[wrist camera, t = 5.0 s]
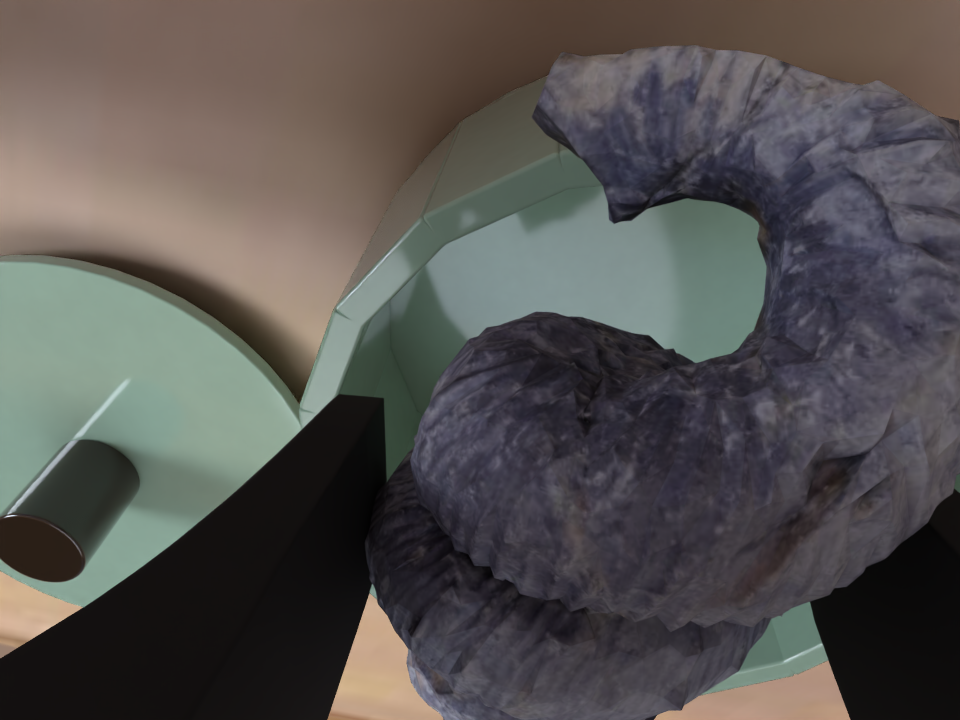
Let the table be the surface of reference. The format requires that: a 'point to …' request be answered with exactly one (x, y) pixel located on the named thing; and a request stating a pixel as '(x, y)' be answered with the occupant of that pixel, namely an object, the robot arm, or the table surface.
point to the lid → (118, 422)
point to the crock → (539, 289)
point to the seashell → (687, 405)
